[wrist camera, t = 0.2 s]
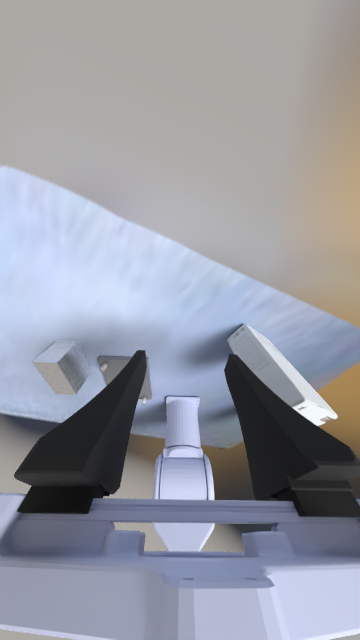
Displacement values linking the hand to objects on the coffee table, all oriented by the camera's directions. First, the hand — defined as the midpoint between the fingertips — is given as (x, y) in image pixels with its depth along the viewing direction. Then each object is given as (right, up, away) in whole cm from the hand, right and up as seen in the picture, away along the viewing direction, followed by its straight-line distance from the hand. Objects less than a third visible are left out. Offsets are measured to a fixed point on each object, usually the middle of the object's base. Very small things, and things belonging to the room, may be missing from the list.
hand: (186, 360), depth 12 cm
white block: (-20, -3, +14) cm, 25 cm away
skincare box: (+11, 0, +12) cm, 16 cm away
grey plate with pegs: (-12, -9, +17) cm, 23 cm away
